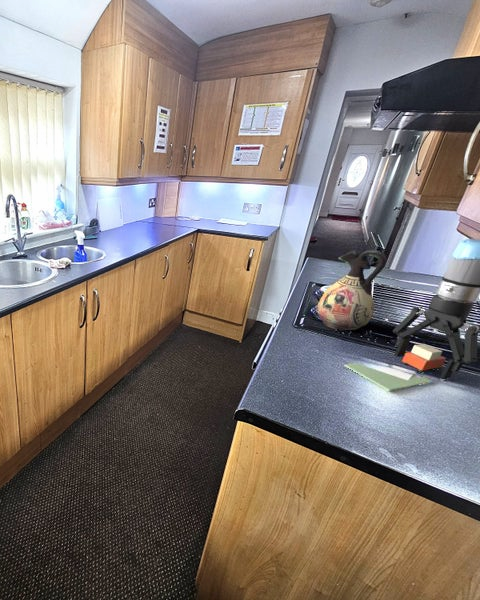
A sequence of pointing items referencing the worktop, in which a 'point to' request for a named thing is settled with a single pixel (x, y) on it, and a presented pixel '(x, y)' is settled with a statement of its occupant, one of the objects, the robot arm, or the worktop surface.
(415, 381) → the mat
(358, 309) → the ceramic jug
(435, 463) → the worktop surface
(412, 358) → the toy car
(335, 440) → the worktop surface
